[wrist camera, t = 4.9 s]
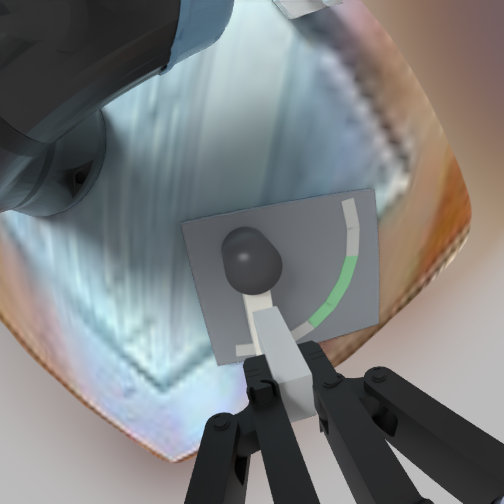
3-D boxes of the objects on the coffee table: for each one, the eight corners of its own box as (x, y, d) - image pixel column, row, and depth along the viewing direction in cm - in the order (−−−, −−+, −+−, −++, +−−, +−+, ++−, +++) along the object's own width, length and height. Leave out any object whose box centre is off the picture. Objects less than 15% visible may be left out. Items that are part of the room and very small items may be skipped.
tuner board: (217, 359, 36) (217, 366, 35) (182, 221, 31) (180, 224, 30) (373, 318, 38) (379, 324, 37) (368, 188, 33) (375, 189, 32)
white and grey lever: (217, 231, 30) (219, 246, 25) (264, 222, 31) (278, 234, 25) (241, 345, 34) (248, 376, 29) (282, 336, 35) (295, 365, 29)
